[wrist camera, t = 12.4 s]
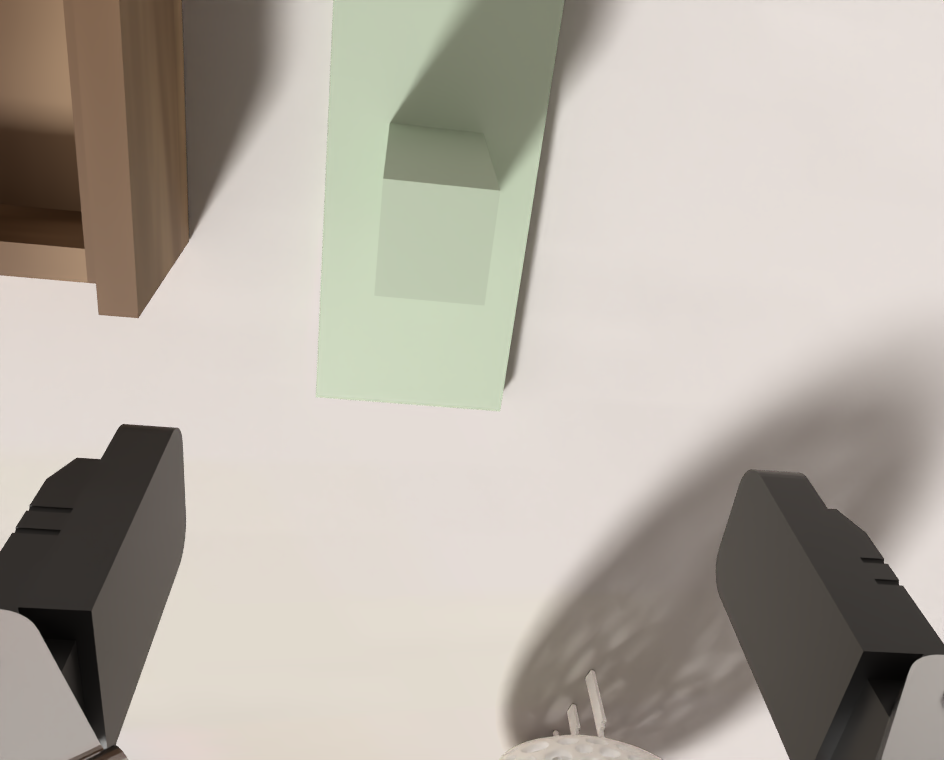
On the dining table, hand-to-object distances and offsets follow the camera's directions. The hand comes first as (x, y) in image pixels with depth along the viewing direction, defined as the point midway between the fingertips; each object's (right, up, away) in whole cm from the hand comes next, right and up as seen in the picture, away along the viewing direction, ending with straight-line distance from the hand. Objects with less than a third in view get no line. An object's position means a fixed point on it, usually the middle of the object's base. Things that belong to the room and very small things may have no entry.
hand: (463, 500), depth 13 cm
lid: (-1, +9, +16) cm, 18 cm away
